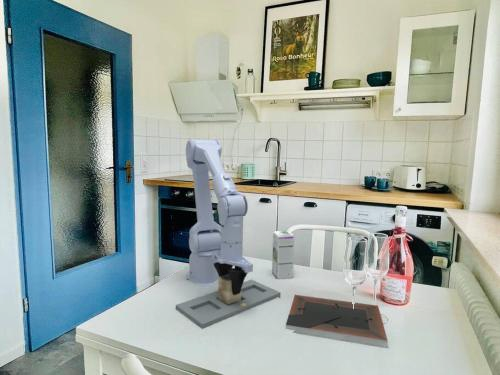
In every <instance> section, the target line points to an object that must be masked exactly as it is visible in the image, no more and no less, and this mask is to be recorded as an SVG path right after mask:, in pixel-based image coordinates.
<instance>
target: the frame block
mask: <svg viewBox="0 0 500 375" xmlns="http://www.w3.org/2000/svg"><path fill="white" fill-rule="evenodd" d="M217 283H218V284H217V285H218V286H217V287H218V290H217V291H218V299H219V300H221V301H222V302H224V303H226V304H227V305H228V304H231V303H233V302H236V301H238V300H241V292H240V293H239V294H237V295H233V293H232V283H231V277H230V274H228V275H225V276H221V277H219V276H218V282H217Z"/></svg>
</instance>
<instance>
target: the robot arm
mask: <svg viewBox="0 0 500 375" xmlns="http://www.w3.org/2000/svg"><path fill="white" fill-rule="evenodd" d="M222 151H223V149H222V144H221V142H220V140H219V139H194V138H189V139H188V140H187V141H186V144H185V158H186V166H187V168H189V169H190V170H191V171H192V177H193V187H194V198H195V199H194V200H195V209H196V220H197V222H196V223H195V224H194V225H193V226H191V228H190V229H189V237H188V245H189V250H190V251H191V253H190V255H189V258H188V259H189V260H188V262H189V263H188V276H186V279H187V280H190V281H193V282H194V283H195V284H198V285H199V286H201V287H206V286H209V285H213V284H215V283H218V277H221V276H225V275H228V274H230V277H231V283H232V293H233V295H237V294H239V293H240V292H241V288H242V285H243V282H245V279H246V277H247V275H248V274H249V273H252V272H253V271H254V270H253V269H254V263H252V262H250V261H248V259H246V258H245V257H244V256H243V241H244V240H243V239H244V217H245V216H246V215H247V214H248V210H249V204H248V199H247V198H246V195H245V194H243V193H242V192H241V191H238V189H237V187H236V184H235V183H234V181H233V179H232V176H231V175H230V174H229V173H227V172H225V169H224V165H223V162H222V159H221V156H222ZM209 173H210V174H209ZM209 175H211V177H212V180H211V183H210V176H209ZM210 184H211V185H210ZM211 187H212V189H213V192H214V194H215V196H216V197H215V198H217V206H216V209H217V213H218V221H219V224H218V223H217V222H216V221H214V212H213V205H212V204H213V203H212V195H211Z"/></svg>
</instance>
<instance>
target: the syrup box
mask: <svg viewBox="0 0 500 375" xmlns="http://www.w3.org/2000/svg"><path fill="white" fill-rule="evenodd" d="M294 253H295V235H294V233H292V232H291V231H290V230H277V231H276V230H275V231H273V232H272V264H271V265H272V266H271V267H272V268H271V270H272V272H271V273H272V274H273V275H274V277H275V278H276V279H277V280H279V279H281V280H284V279H293V278H294V264H295V263H294V258H295V257H294V256H295V254H294Z"/></svg>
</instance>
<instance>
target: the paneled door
mask: <svg viewBox="0 0 500 375" xmlns="http://www.w3.org/2000/svg"><path fill="white" fill-rule="evenodd" d="M281 295H282V294H281V292H280V291H278V290H276V289H273V288H271V287H269V286H267V285H265V284H262V283H261V282H258V281H256V280H254V279H250V280H249V279H248V280H246V281H245V280H244V282H243V285H242V288H241V300H238V301H236V302H233V303H231V304H228V305H227V304H226V303H224V302H222V301H221V300H219V299H218V290H215V291H213V292H210V293H207V294H204V295H201V296H199V297H195V298H192V299H189V300H186V301H183V302H181V303H178V304H176V305H175V310H176V311H178V312H179V313H180V314H182V315H183V316H185V317H186V318H187V319H189V320H190V321H192V323H194V324H195V325H197V326H198V327H199V328H201V329H202V330H203V329H205V328H208V327H210V326H212V325H213V326H214V324H218V323H219V322H222V321H224V320H225V321H226V320H227V319H229V318H232V317H234V316H237V315H239V314H241V313H244V312H246V311H248V310H251V309H254V308H255V307H258V306H261V305H263V304H265V303H267V302H270V301H273V300H274V299H277V298H278V299H281Z"/></svg>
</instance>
